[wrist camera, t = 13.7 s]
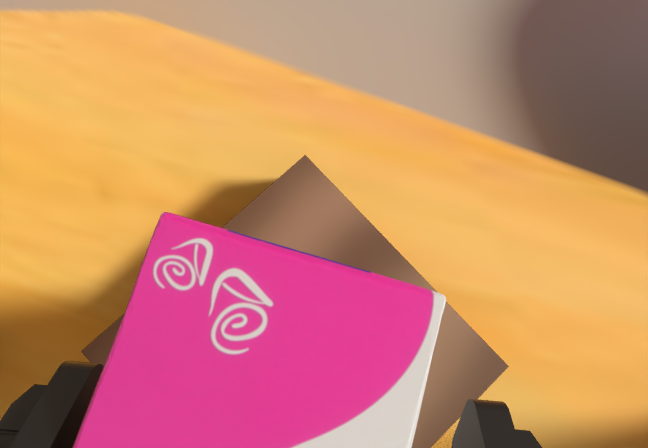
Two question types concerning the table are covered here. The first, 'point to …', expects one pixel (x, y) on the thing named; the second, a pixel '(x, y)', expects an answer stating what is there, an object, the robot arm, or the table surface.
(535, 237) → the table surface
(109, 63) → the table surface
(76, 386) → the robot arm
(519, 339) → the table surface
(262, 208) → the walnut block
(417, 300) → the supplement box
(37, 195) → the table surface
